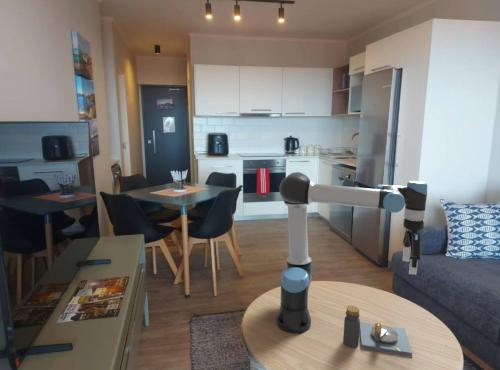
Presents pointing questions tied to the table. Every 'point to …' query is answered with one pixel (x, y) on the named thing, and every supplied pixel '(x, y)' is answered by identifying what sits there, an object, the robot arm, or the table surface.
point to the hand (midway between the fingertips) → (409, 267)
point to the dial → (384, 333)
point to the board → (397, 348)
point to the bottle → (351, 327)
